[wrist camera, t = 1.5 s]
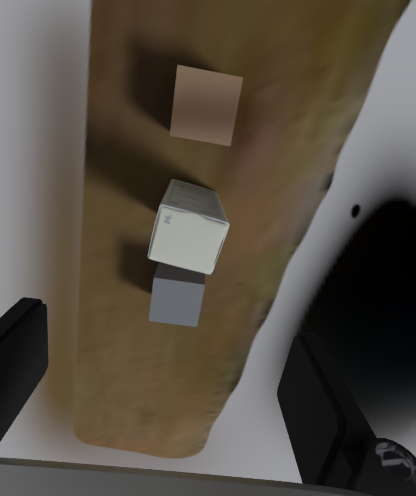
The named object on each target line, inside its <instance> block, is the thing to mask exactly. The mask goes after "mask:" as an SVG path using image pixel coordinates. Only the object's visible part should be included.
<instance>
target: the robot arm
mask: <svg viewBox="0 0 416 496" xmlns="http://www.w3.org/2000/svg"><path fill="white" fill-rule="evenodd" d="M47 367H48V331H47V306H46V304H43V303H42V300H40V299H34V298H26V297H24V298H22V299H20V300H19V301H18V302H17V303H16V304H15V305H14V306H13V307H11V308H10V309H9V310H8V311H7V312H6V313H5V314H4V315H3V316H2V317H1V318H0V441H1V440H2V438H3V437H4V435H5V434H6V432H7V431H8V429H9V428H10V426H11V425H12V423H13V421H14V420H15V418H16V417H17V415H18V414H19V412H20V411H21V409H22V408H23V406H24V404H25V403H26V402H27V400H28V398H29V397H30V395H31V394H32V392H33V391H34V389H35V388H36V386H37V385H38V383H39V382H40V380H41V379H42V377H43V375H44V374H45V372H46V370H47ZM277 397H278V401H279V404H280V408H281V411H282V415H283V418H284V421H285V425H286V428H287V432H288V435H289V438H290V442H291V445H292V449H293V452H294V455H295V459H296V462H297V466H298V469H299V473H300V476H301V479H302V483H303V484H301V483H292V482H283V481H273V480H262V479H252V478H241V477H230V476H219V475H209V474H197V473H185V472H175V471H163V470H152V469H140V468H128V467H116V466H105V465H92V464H79V463H67V462H55V461H54V462H53V461H41V460H30V459H16V458H0V496H416V457H415V456H414V455H413V454H412V453H411V452H410V451H409V450H408V449H406V448H405V447H404V446H402V445H401V444H399V443H397V442H395V441H393V440H390V439H387V438H377V437H376V436H375V434H374V432H373V431H372V429H371V427H370V425H369V424H368V422H367V420H366V419H365V417H364V415H363V413H362V412H361V410H360V408H359V407H358V405H357V403H356V401H355V400H354V398H353V396H352V395H351V393H350V391H349V389H348V388H347V386H346V384H345V383H344V381H343V379H342V377H341V376H340V374H339V373H338V371H337V369H336V367H335V366H334V364H333V362H332V360H331V359H330V357H329V355H328V354H327V352H326V350H325V348H324V347H323V345H322V343H321V342H320V340H319V338H318V337H317V335H315V334H309V333H300V334H299V336H295V337H294V339H293V342H292V345H291V349H290V352H289V355H288V358H287V361H286V364H285V368H284V371H283V374H282V377H281V380H280V383H279V386H278V391H277Z"/></svg>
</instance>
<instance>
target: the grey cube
mask: <svg viewBox="0 0 416 496" xmlns="http://www.w3.org/2000/svg"><path fill="white" fill-rule="evenodd" d="M204 287H205V273H201V272H197V271H193V270H188V269H184V268H180V267H176V266H173V265H169V264H165V263H162V262H159V263H158V266H157V269H156V272H155V275H154V279H153V288H152V297H151V306H150V314H149V321H155V322H163V323H170V324H178V325H186V326H194V327H197V325H198V319H199V314H200V309H201V303H202V298H203V292H204Z"/></svg>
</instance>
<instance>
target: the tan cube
mask: <svg viewBox="0 0 416 496" xmlns="http://www.w3.org/2000/svg"><path fill="white" fill-rule="evenodd" d="M242 81H243V78H242V77H237V76H232V75H227V74H222V73H217V72H212V71H207V70H202V69H197V68H192V67H187V66H182V65H177V74H176V83H175V92H174V101H173V109H172V118H171V127H170V136H175V137H181V138H187V139H192V140H198V141H204V142H209V143H215V144H220V145H226V146H231V140H232V135H233V129H234V124H235V119H236V113H237V108H238V102H239V97H240V92H241V86H242Z"/></svg>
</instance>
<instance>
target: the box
mask: <svg viewBox="0 0 416 496" xmlns="http://www.w3.org/2000/svg"><path fill="white" fill-rule="evenodd" d="M228 229H229V223H228V220H227V218H226V215H225V212H224V209H223V207H222V204H221V201H220V199H219V196H218V193H217V192H216V191H213V190H210V189H207V188H204V187H201V186H197V185H194V184H190V183H187V182H183V181H179V180H176V179H171V181H170V183H169V186H168V188H167V190H166V193H165V195H164V197H163V199H162V201H161V203H160V206H159V209H158V213H157V217H156V220H155V224H154V229H153V233H152V237H151V242H150V246H149V251H148V258H149V259H151V260H155V261H158V262H162V263H165V264H169V265H173V266H176V267H180V268H184V269H188V270H193V271H197V272H201V273H205V274H211V273H212V271H213V269H214V266H215V264H216V261H217V259H218V256H219V253H220V251H221V248H222V246H223V243H224V240H225V237H226V234H227V231H228Z"/></svg>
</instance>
